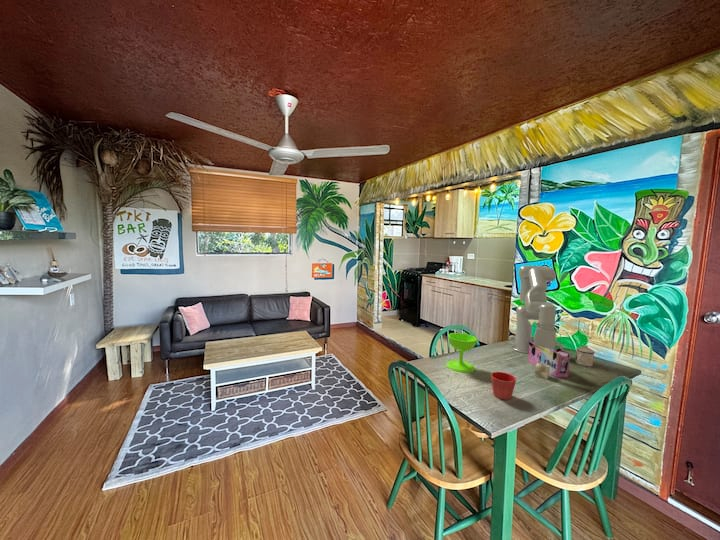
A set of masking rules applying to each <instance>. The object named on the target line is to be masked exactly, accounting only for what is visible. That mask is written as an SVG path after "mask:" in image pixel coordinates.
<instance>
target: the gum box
mask: <svg viewBox="0 0 720 540" xmlns="http://www.w3.org/2000/svg"><path fill="white" fill-rule="evenodd" d="M531 343H532V344H534V340H531ZM535 348H536V349H535V355H533V353H532V348H531V346H530V348H529V353H528V363H530V364H532V365H533V366H535V365H536V364H537V363H541V364H545V365H549V366H550V368H549V375H551V376H553V377H555V378H569V372H570V360H571V353H569V352H568V351H565V350H563V349H562V350H561V351H559V352H557V358H555V360H553V353H554V351H553V350H552V349H548V348H543V347H539V346H535ZM555 348H556V349H559V347H557V346H556V347H555Z"/></svg>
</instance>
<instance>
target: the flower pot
mask: <svg viewBox="0 0 720 540" xmlns="http://www.w3.org/2000/svg"><path fill="white" fill-rule="evenodd" d="M490 378H491V388H492V394H493V396H494V398H495V397H496V398H497V399H498V400H499V399H500V400H505V401H508V400H510V399H512V396H513V393H514V390H515V386H516V382H517V378H516V377H515V376H514V375H513V374H510V373H508V372H503V371H496V372H495V371H494V372H491V374H490Z"/></svg>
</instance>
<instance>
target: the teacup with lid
mask: <svg viewBox="0 0 720 540" xmlns="http://www.w3.org/2000/svg"><path fill="white" fill-rule="evenodd" d="M575 355H576V356H575V364H578V365H581V366H584V367H593V364H594V357H595V350H593V348H590V347H589V346H588V345H583V346H579V347H576V353H575Z"/></svg>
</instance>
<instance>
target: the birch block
mask: <svg viewBox="0 0 720 540" xmlns="http://www.w3.org/2000/svg"><path fill="white" fill-rule="evenodd" d="M534 366H535V367H534V377H536V378H541V379H544V380H548V378H549V375H550V374H549V368H550V366H549V365H545V364H541V363H537V364H536V365H534Z"/></svg>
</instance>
